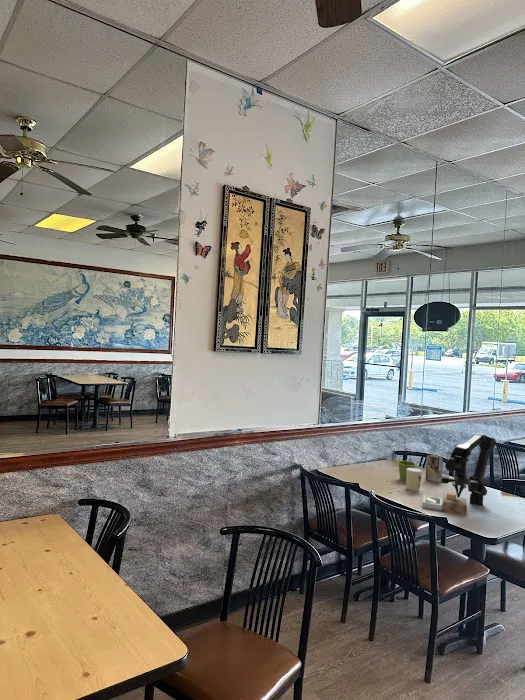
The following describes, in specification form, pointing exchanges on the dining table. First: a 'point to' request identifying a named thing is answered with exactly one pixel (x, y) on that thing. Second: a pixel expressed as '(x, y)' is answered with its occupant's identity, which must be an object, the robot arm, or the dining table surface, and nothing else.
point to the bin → (431, 505)
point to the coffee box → (434, 468)
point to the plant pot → (403, 466)
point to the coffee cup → (413, 479)
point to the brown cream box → (455, 505)
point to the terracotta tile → (451, 495)
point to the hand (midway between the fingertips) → (458, 497)
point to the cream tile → (430, 500)
